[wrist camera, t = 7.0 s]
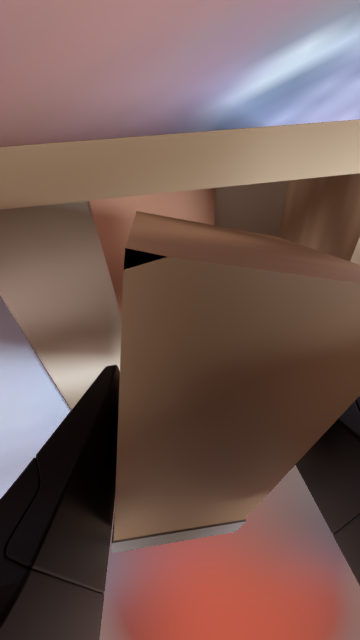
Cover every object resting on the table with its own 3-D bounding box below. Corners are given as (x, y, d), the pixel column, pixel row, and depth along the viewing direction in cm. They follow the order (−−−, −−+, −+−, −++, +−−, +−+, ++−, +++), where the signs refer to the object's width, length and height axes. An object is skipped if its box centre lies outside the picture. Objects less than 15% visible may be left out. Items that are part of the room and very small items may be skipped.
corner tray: (259, 389, 20) (293, 447, 16) (85, 422, 19) (67, 496, 14) (308, 147, 10) (443, 112, 6) (-61, 179, 9) (-283, 168, 4)
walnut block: (277, 236, 7) (458, 297, 3) (205, 419, 12) (236, 531, 8) (134, 210, 6) (118, 251, 2) (122, 423, 11) (111, 553, 7)
